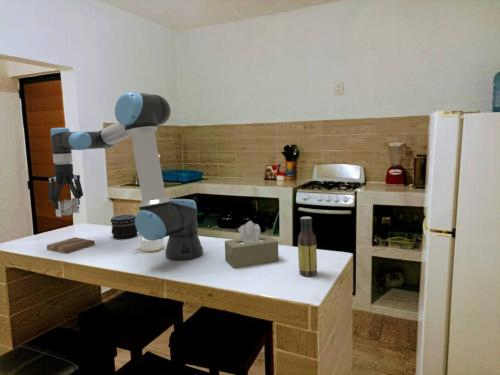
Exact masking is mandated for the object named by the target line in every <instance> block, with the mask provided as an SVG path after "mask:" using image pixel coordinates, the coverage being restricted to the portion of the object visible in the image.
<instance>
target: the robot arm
mask: <svg viewBox="0 0 500 375" xmlns="http://www.w3.org/2000/svg"><path fill="white" fill-rule="evenodd" d="M114 117H115V119H116V121H117V122H115V123H113V124H110V125H109V126H107V127H105V128H102V129H101V130H98V131H82V130H81V131H79V130H77V131H70V128H68V127H52V128H51V129H50V137H49V138H50V143H51V152H52V161H53V172H54V177H48V178H47V181H48V194H47V195H48V197H47V200H48V201H49V202H52V203H53V209H54V210H55V215H56V217H57V218H58V217H59V218H63V216H62V214H61V205H60V203H61V201H60V197H61V193H62V189H63V187H64V186H66V185H67V186H68V188H69V190H70V191H71V194H72V196H73V198H74V199H73V198H72V199H73V200H74V202H75V204H76V205H77V207H79V208H77V210H76V211H75V212H74V213H73V214H79V213H80V205H81V201H80V199H81V198H82V197H83V196H84V192H83V188H82V183H81V176H80V175H79V174H74V164H73V163H72V162H73V155H72V154H73V153H72V150H73V151H75V150H76V151H81V150H82V151H84V150H94V149H98V150H99V149H105V150H106V149H110V148H114V147H115V144H116V143H119V142H120V141H122V140H125V139H127V138H129V137H130V140H131V145H132V152H133V157H134V163H135V168H136V173H137V178H138V183H139V184H138V185H139V189H140V195H141V202H140V203H139V205H138V207H139V212H138V213H137V214H136V218H135V225H136V228H137V231H138V232H137V233H138V234H139V235H140V236H141V237H142V238H143V239H145V240H147V241H151V242H154V241H159V240H162V239H164V238H167V237H168V241H167V242H166V243H167V244H166V249H165V258H167V259H169V260H172V261H188V260H192V259H193V260H194V259H196V258H200V257H201V256H202V255H203V254H204V250H203V249H204V248H203V246H202V243H201V240H200V238H199V237H200V236H199V232H198V212H197V211H198V208H197V203H196V201H195V200H194V199H189V198H188V199H186V198H168V197H167V196H166V190H165V189H166V188H165V185H164V180H163V174H162V168H161V163H160V157H159V152H158V150H159V149H158V147H157V146H158V145H157V140H156V135H155V133H156V132H157V130H158V128H159V127H160V126H162V125H164V124H166V123H167V122H168V120H170V117H171V106H170V104H169V102H168V101H167V100H166V99H165V97H163V96H161V95H158V94H150V93H144V92H143V93H142V92H137V91H133V92H125V93H122V94H121V95H120V96H119V97H118V99H117V101H116V102H115V106H114Z"/></svg>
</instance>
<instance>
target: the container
mask: <svg viewBox="0 0 500 375" xmlns="http://www.w3.org/2000/svg"><path fill="white" fill-rule="evenodd" d="M136 215H137V214H136ZM136 215H135V214H129V213H128V214H117V215H114V216H112V218H111V219H110V222H111V226H112V228H111V234H112V236H113V239H116V240H128V239H133V238H136V237H137V236H138V233H139V232H138V231H137V228H136V225H135V218H136Z"/></svg>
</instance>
